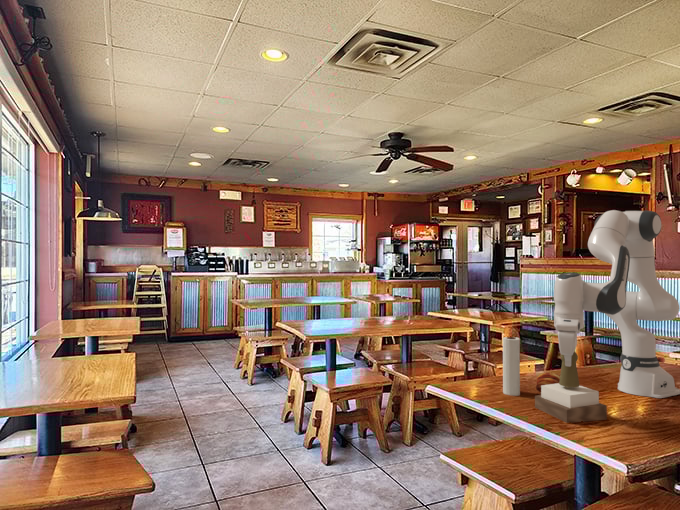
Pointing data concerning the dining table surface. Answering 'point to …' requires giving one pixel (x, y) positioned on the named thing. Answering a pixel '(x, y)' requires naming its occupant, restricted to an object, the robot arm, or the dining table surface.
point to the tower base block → (571, 411)
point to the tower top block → (570, 395)
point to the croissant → (546, 380)
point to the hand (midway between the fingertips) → (569, 364)
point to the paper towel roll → (511, 366)
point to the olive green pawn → (569, 372)
